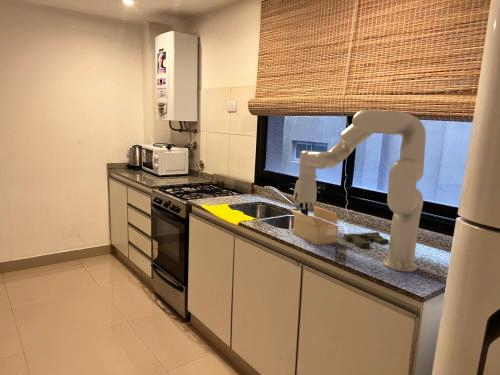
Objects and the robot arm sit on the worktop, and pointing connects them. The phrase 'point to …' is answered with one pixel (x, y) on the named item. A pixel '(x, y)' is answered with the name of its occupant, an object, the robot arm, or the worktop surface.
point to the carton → (316, 231)
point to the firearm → (365, 239)
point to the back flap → (325, 214)
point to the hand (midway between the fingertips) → (304, 217)
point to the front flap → (304, 217)
